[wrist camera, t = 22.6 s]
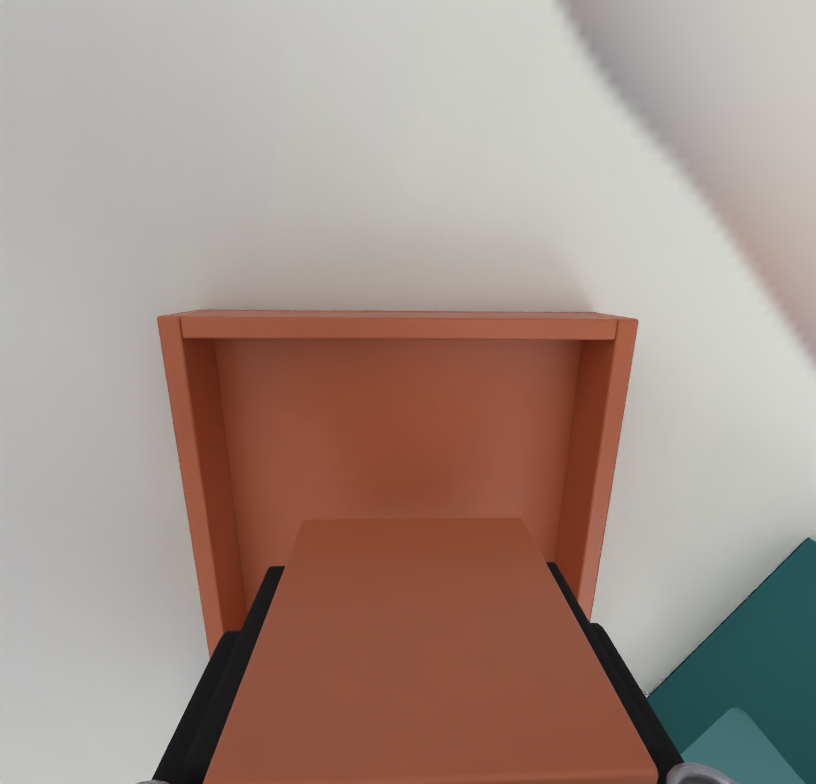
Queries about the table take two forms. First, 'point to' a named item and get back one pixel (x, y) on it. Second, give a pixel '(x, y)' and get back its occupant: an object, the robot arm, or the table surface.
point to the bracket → (753, 685)
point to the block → (424, 667)
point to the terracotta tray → (391, 430)
